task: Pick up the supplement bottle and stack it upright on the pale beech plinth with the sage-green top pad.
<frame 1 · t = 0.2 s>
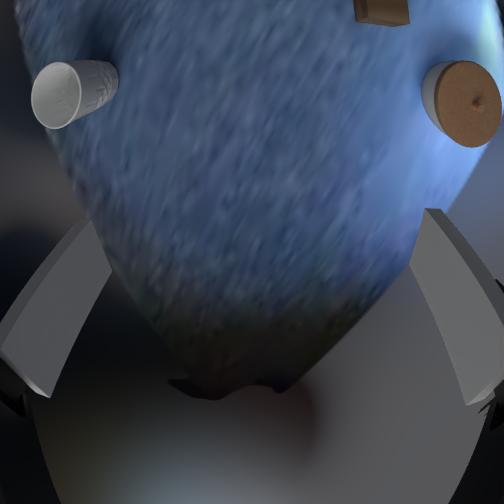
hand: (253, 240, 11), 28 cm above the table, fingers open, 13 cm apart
white cup: (99, 83, 30), on the table
walnut cube: (372, 7, 23), on the table
lidded jar: (440, 93, 28), on the table
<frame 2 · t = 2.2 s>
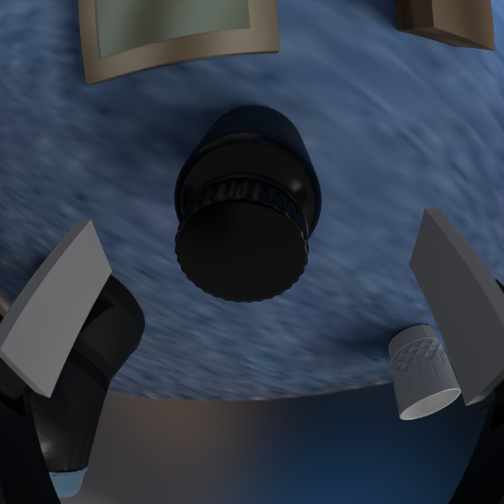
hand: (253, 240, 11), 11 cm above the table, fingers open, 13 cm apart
white cup: (410, 338, 33), on the table
supplement bottle: (253, 150, 20), on the table
walnut cube: (425, 9, 12), on the table
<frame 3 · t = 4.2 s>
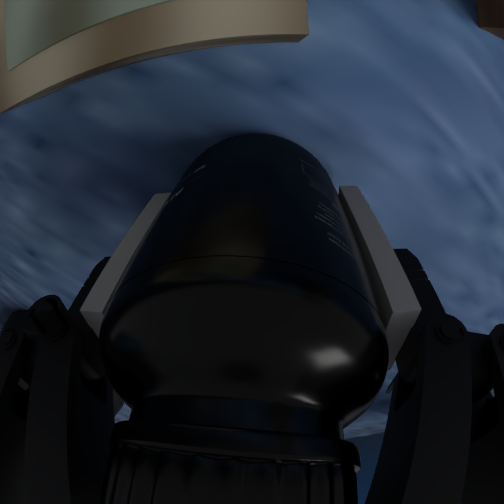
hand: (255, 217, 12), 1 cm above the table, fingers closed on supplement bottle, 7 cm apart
supplement bottle: (256, 203, 13), on the table, touching gripper
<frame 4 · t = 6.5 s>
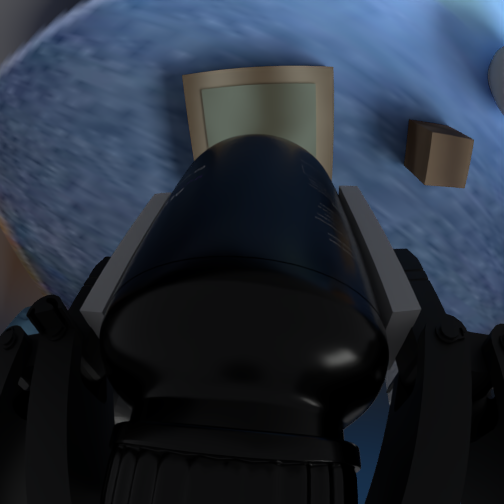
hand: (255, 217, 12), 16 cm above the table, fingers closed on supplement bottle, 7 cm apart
white cup: (398, 348, 45), on the table
supplement bottle: (256, 203, 13), point 15 cm above the table, touching gripper
walnut cube: (426, 144, 24), on the table
lidded jar: (503, 81, 18), on the table
plinth: (262, 128, 25), on the table
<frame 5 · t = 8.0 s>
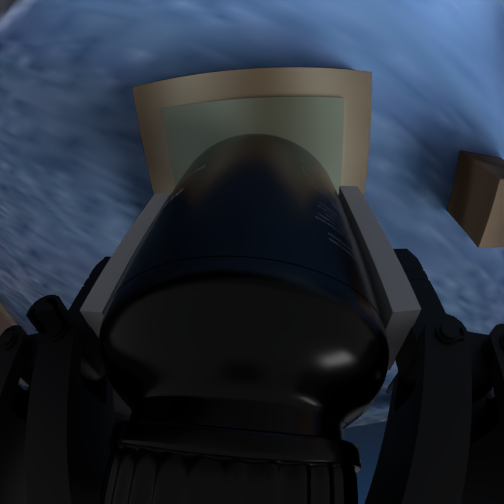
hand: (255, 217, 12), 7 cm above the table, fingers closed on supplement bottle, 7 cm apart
supplement bottle: (256, 203, 13), point 6 cm above the table, touching gripper
walnut cube: (475, 183, 17), on the table
plinth: (258, 162, 18), on the table
when the fingers open (6 cm above the table, at t = 9.1 s): supplement bottle drops 1 cm, resting on plinth.
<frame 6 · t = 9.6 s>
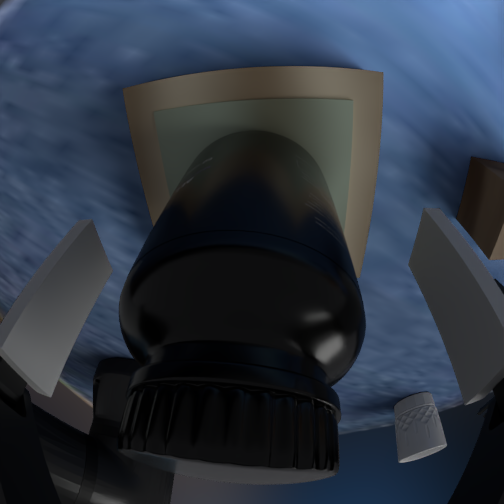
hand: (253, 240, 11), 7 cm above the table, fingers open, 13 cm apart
white cup: (412, 400, 37), on the table
supplement bottle: (255, 193, 14), point 3 cm above the table, touching plinth
walnut cube: (486, 190, 16), on the table
plinth: (259, 168, 17), on the table
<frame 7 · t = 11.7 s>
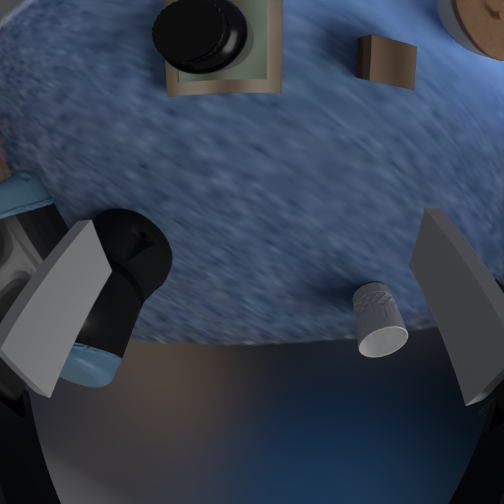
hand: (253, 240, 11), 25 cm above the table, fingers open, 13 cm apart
white cup: (370, 295, 47), on the table
supplement bottle: (220, 40, 23), point 3 cm above the table, touching plinth
walnut cube: (377, 61, 25), on the table
lidded jar: (456, 17, 19), on the table
plinth: (226, 41, 25), on the table
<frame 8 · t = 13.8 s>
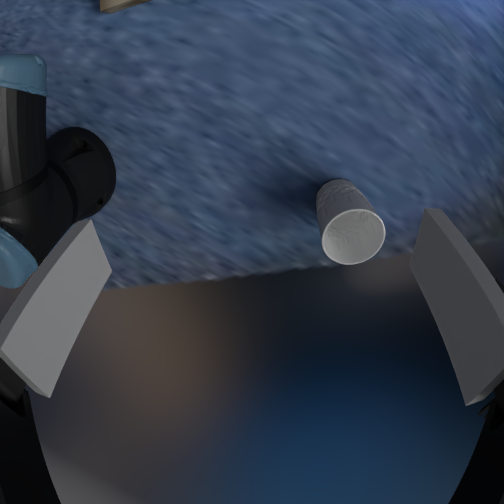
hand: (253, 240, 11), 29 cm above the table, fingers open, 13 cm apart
white cup: (337, 199, 41), on the table
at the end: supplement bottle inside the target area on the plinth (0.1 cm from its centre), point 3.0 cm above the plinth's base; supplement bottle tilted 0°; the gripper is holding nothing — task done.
